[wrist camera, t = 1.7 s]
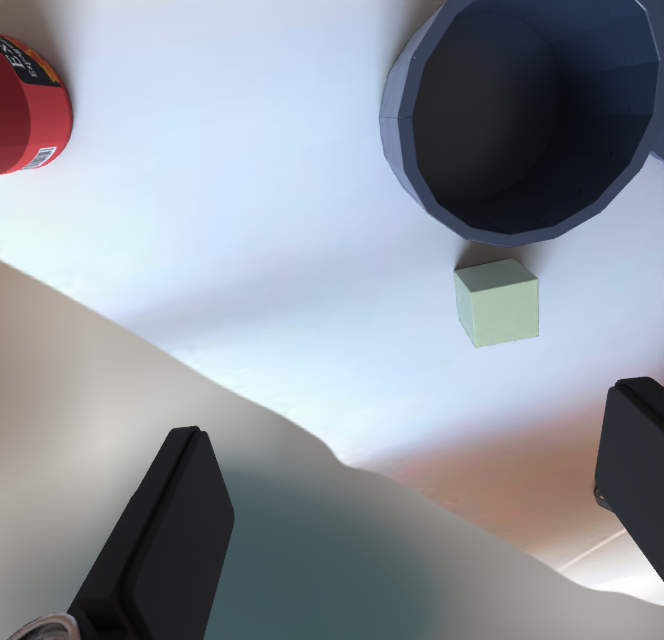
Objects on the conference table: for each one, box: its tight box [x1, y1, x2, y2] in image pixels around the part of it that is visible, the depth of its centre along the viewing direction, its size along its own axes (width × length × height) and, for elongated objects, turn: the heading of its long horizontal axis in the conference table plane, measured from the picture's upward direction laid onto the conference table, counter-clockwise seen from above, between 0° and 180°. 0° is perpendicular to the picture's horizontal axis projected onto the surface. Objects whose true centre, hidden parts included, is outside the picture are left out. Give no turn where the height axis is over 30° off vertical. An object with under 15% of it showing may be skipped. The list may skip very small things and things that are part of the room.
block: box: [454, 258, 539, 348], centre depth 31 cm, size 5×5×5 cm
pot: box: [379, 0, 664, 247], centre depth 24 cm, size 12×12×10 cm
